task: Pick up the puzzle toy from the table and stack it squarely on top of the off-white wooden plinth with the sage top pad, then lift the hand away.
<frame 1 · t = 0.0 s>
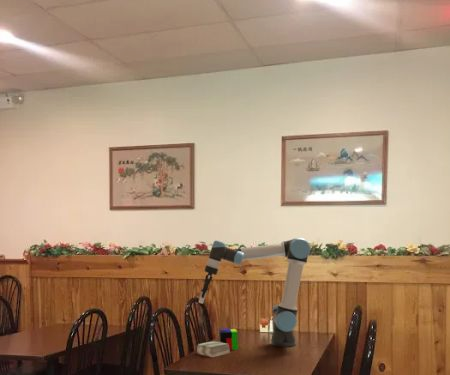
hand: (201, 301, 275), 28 cm above the table, tool tilted 20°, fingers open, 13 cm apart
puzzle toy: (228, 348, 278), on the table
plinth: (213, 353, 265), on the table
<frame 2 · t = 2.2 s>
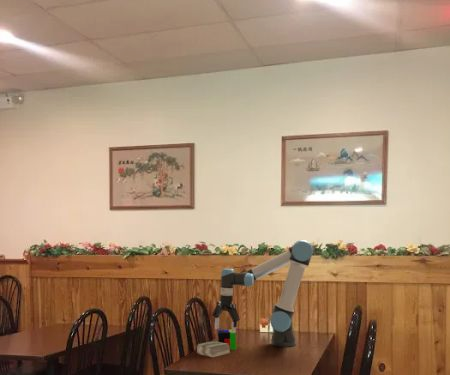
hand: (225, 331, 279), 10 cm above the table, tool pointing down, fingers open, 13 cm apart
puzzle toy: (226, 349, 278), on the table, touching gripper
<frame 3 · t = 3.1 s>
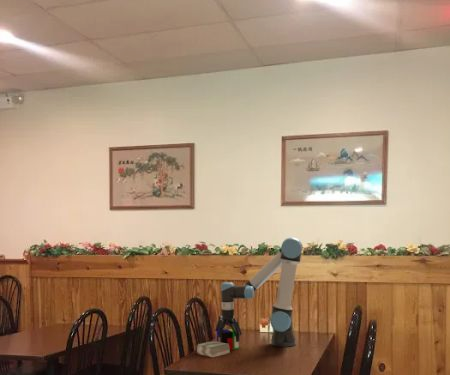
hand: (228, 345, 278), 1 cm above the table, tool pointing down, fingers open, 13 cm apart
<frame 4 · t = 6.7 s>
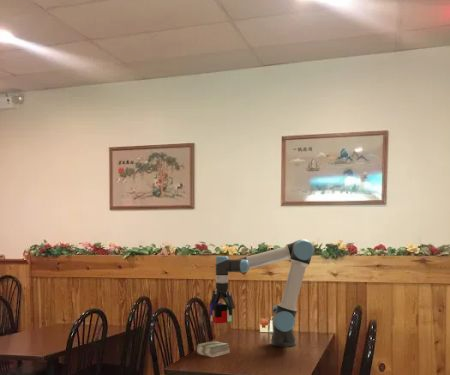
hand: (222, 319, 276), 17 cm above the table, tool pointing down, fingers closed on puzzle toy, 12 cm apart
puzzle toy: (221, 321, 276), point 16 cm above the table, touching gripper
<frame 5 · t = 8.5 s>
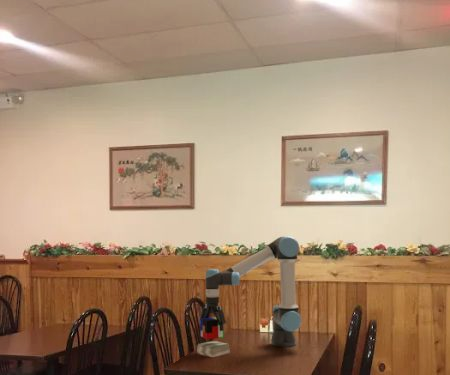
hand: (212, 335, 266), 10 cm above the table, tool pointing down, fingers closed on puzzle toy, 12 cm apart
puzzle toy: (212, 337, 266), point 9 cm above the table, touching gripper
when the fingers open (7 cm above the table, at t = 10.0 s): puzzle toy drops 1 cm, resting on plinth.
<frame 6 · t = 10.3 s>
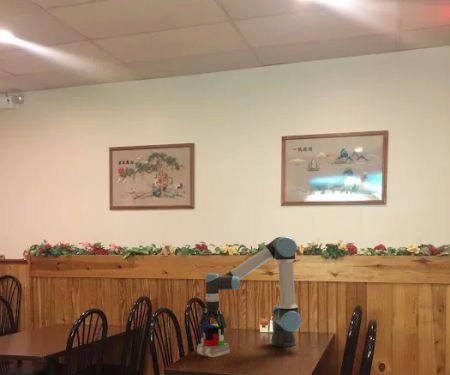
hand: (213, 339, 266), 8 cm above the table, tool pointing down, fingers open, 13 cm apart
puzzle toy: (212, 344, 266), point 5 cm above the table, touching plinth
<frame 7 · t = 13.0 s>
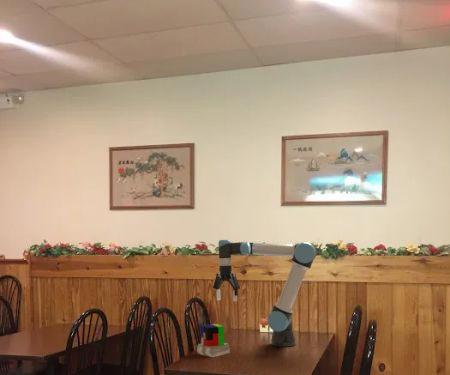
hand: (226, 300, 284), 27 cm above the table, tool pointing down, fingers open, 13 cm apart
nothing on the table moved.
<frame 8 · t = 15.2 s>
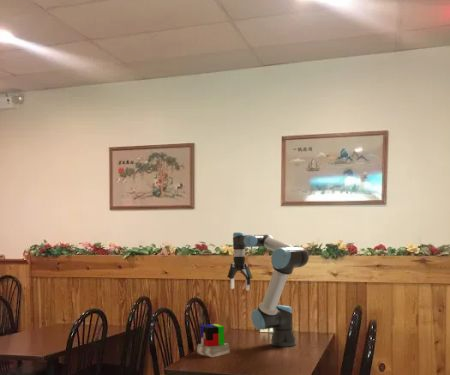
hand: (240, 289, 303), 32 cm above the table, tool pointing down, fingers open, 13 cm apart
nothing on the table moved.
at the end: puzzle toy inside the target area on the plinth (0.3 cm from its centre), point 4.8 cm above the plinth's base; puzzle toy tilted 0°; the gripper is holding nothing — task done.
